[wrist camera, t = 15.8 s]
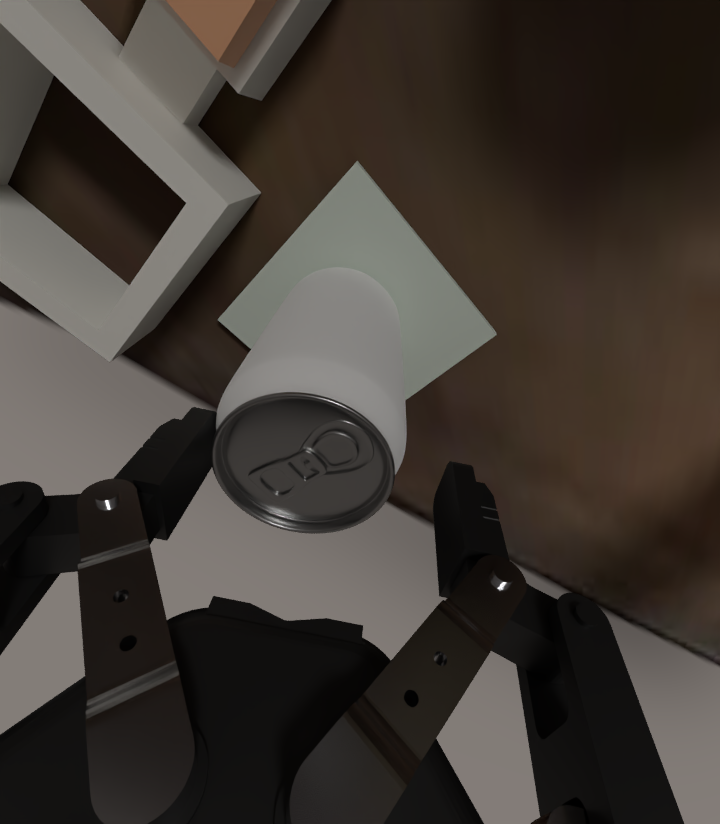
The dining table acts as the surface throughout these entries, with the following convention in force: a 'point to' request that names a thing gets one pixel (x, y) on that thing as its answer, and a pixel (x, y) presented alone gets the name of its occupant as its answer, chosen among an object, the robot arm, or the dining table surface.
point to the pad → (383, 261)
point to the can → (317, 408)
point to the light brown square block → (224, 24)
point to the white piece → (144, 134)
